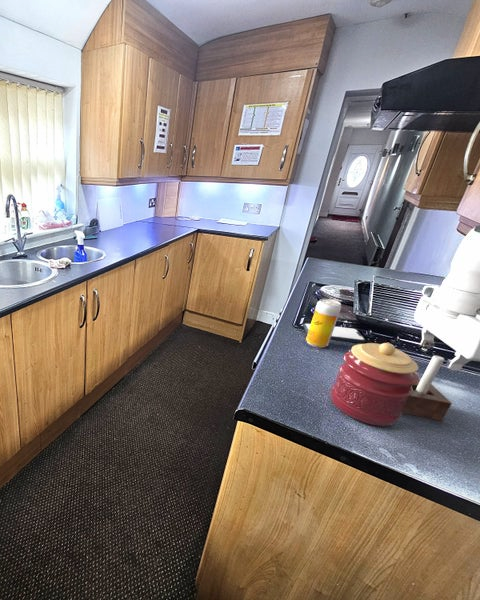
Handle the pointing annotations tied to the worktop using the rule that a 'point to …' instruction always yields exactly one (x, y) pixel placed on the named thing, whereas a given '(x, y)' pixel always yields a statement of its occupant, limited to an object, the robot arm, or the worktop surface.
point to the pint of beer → (323, 322)
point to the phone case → (343, 334)
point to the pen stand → (427, 404)
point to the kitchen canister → (374, 383)
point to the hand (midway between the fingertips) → (438, 357)
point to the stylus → (429, 374)
